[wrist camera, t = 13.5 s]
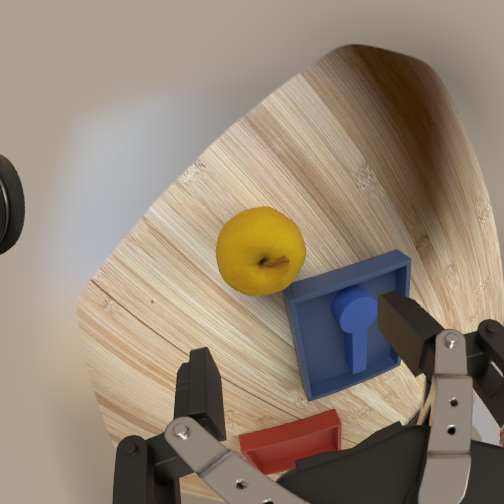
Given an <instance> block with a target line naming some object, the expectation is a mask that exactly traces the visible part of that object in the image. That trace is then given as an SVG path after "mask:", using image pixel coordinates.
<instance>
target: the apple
mask: <svg viewBox="0 0 504 504" xmlns="http://www.w3.org/2000/svg"><path fill="white" fill-rule="evenodd" d="M305 257H306V247H305V243H304V240H303V237H302V234H301V232H300V230H299V228H298V227H297V226H296V224H295V223H294V222H293V221H292V220H290V219H289V218H288V217H286V216H285V215H284V214H282V213H280V212H279V211H277V210H275V209H273V208H271V207H265V206H263V207H257V208H252V209H248V210H244V211H243V212H241V213H239V214H237V215H236V216H234V217H233V218H232V219H231V220H230V221H228V222H227V223H226V225H225V226H224V227H223V229H222V230H221V232H220V234H219V237H218V241H217V247H216V258H217V263H218V267H219V270H220V273H221V275H222V277H223V279H224V280H225V282H226V283H227V284H229V285H230V286H231V287H232V288H234V289H235V290H237V291H239V292H241V293H243V294H245V295H249V296H264V295H269V294H272V293H277V292H279V291H281V290H284V289H285V288H287V287H288V286H289V285H290V284H291V283H292V282H293V281H294V279H295V278H296V276H297V275H298V273H299V271H300V269H301V267H302V265H303V263H304V261H305Z"/></svg>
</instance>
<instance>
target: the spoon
mask: <svg viewBox="0 0 504 504" xmlns="http://www.w3.org/2000/svg"><path fill="white" fill-rule="evenodd" d="M377 306H378V304H377V302H376V300H375V299H374V298H373V297H372V296H371V295H370V294H369V293H368V292H367V291H366V290H365V289H364V288H363V287H361V286H357V285H354V286H349V287H347V288H345V289H343V290H342V291H341V292H339V293H338V294H337V296H336V297H335V298H334V300H333V303H332V307H331V311H332V314H333V316H334V318H335V319H336V321H337V322H338V324H339V325H340V327H341V328H342V330H343V331H344V333H345V356H346V364H347V365H348V367H349V369H350V371H351V372H352V374H353V375H354V374H356V373H359V372H361V371H364V370H366V358H367V328H368V327H369V326H370V325H371V324H372V323H373V321H374V320H375V318H376V316H377Z"/></svg>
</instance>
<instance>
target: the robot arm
mask: <svg viewBox="0 0 504 504" xmlns="http://www.w3.org/2000/svg"><path fill="white" fill-rule="evenodd" d="M10 218H11V206H10V198H9V194H8V190H7V187H6V184H5V182H4V180H3V178H2V176H1V175H0V243H1V242H2V241H3V240H4V238H5V237H6V235H7V232H8V229H9V225H10ZM377 323H378V327H379V330H380V332H381V333H382V334H383V336H384V337H385V338H386V339H387V341H388V342H389V343H390V345H391V346H392V347H393V348H394V350H395V351H396V352H397V354H398V355H399V356H400V358H401V359H402V360H403V361H404V363H405V364H406V365H407V367H408V368H409V369H410V371H411V372H412V373H413V375H414V376H415V377H417V376H418V375H420V374H422V373H424V375H425V376H426V377H425V381H424V390H423V397H422V404H421V411H420V415H419V419H418V422H417V425H407V426H402V425H401V423H400V421H398V422H396V423H394V424H392V425H389V426H387V427H385V428H383V429H381V430H379V431H376V432H375V433H373V434H372V435H371V436H369V437H368V438H366V439H365V440H364V441H362V442H361V443H359V444H358V445H356V446H355V447H353V448H351V449H345V450H338V451H330V452H322V453H319V454H315V455H312V456H309V457H305V458H302V459H298V460H295V464H296V467H294V468H292V469H290V470H289V471H287V472H286V473H284V474H283V475H282V476H280V477H279V478H278V479H277V480H276V481H273V480H272V479H270V478H269V477H267V476H266V475H264V474H263V473H262V472H260V471H259V470H257V469H256V468H255V467H253V466H252V465H251V464H249V463H248V462H247V461H245V460H244V459H243V458H241V457H240V456H239V455H238V454H236V453H235V452H234V451H232V450H230V449H227V448H226V447H225V446H223V445H222V444H221V443H220V442H219V441H225V440H226V430H225V419H224V408H223V396H222V383H221V377H220V373H219V370H218V368H217V366H216V364H215V362H214V360H213V358H212V355H211V353H210V351H209V349H208V348H207V347H203V348H199V349H194V350H191V351H190V360H189V362H187V363H182V365H181V367H180V369H179V370H178V372H177V381H176V382H177V384H176V392H175V405H174V418H173V420H172V421H171V422H170V423H169V424H168V425H167V427H166V429H165V432H163V433H162V434H160V435H157V436H155V437H152V438H149V439H147V440H144V439H143V438H142V437H140V436H137V435H131V436H128V437H125V438H124V439H123V440H122V441H121V442H120V443H119V444H118V447H117V451H116V461H115V462H116V463H115V472H114V486H113V504H181V496H180V484H179V478H180V477H183V476H186V475H188V474H191V473H194V472H196V473H197V474H198V476H199V477H200V478H201V479H202V480H203V481H204V482H205V483H206V484H207V485H208V486H209V487H210V488H211V489H212V490H213V491H214V492H215V493H216V494H218V495H219V496H220V497H221V498H222V499H223V500H224V501H225V502H227V503H228V504H504V327H503V326H502V325H501V324H500V323H499V322H497V321H495V320H491V319H487V320H484V321H482V322H481V323H480V324H479V326H478V329H477V331H475V332H471V333H467V334H462V333H461V332H459V331H457V330H454V329H444V328H443V327H442V326H441V325H440V324H439V323H438V322H437V321H436V320H435V319H434V318H433V317H432V316H431V315H430V314H429V313H428V312H427V313H426V311H425V310H424V309H423V308H421V306H420V305H419V304H418V303H417V302H416V301H415V300H413V299H411V298H408V297H406V296H404V297H401V296H400V295H399V294H398V293H397V292H396V291H395V290H391V291H388V292H386V293H383V294H380V295H379V296H378V306H377ZM492 361H493V362H494V363H495V364H496V366H497V367H498V368H499V369H500V370H501V372H502V373H503V377H502V376H501V375H500V374H499V372H498V371H497V370H496V369H495V367H494V366H493V365H492V364H491V363H492ZM473 389H474V390H475V391H476V393H477V394H478V395H479V397H480V398H481V399H482V401H483V403H484V404H485V405H486V407H487V408H488V410H489V411H490V413H491V414H492V416H493V417H494V419H495V420H496V422H497V423H498V425H499V426H500V428H501V430H500V441H499V443H500V446H497V445H492V444H488V443H484V442H480V441H476V440H472V439H471V429H472V408H473Z"/></svg>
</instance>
